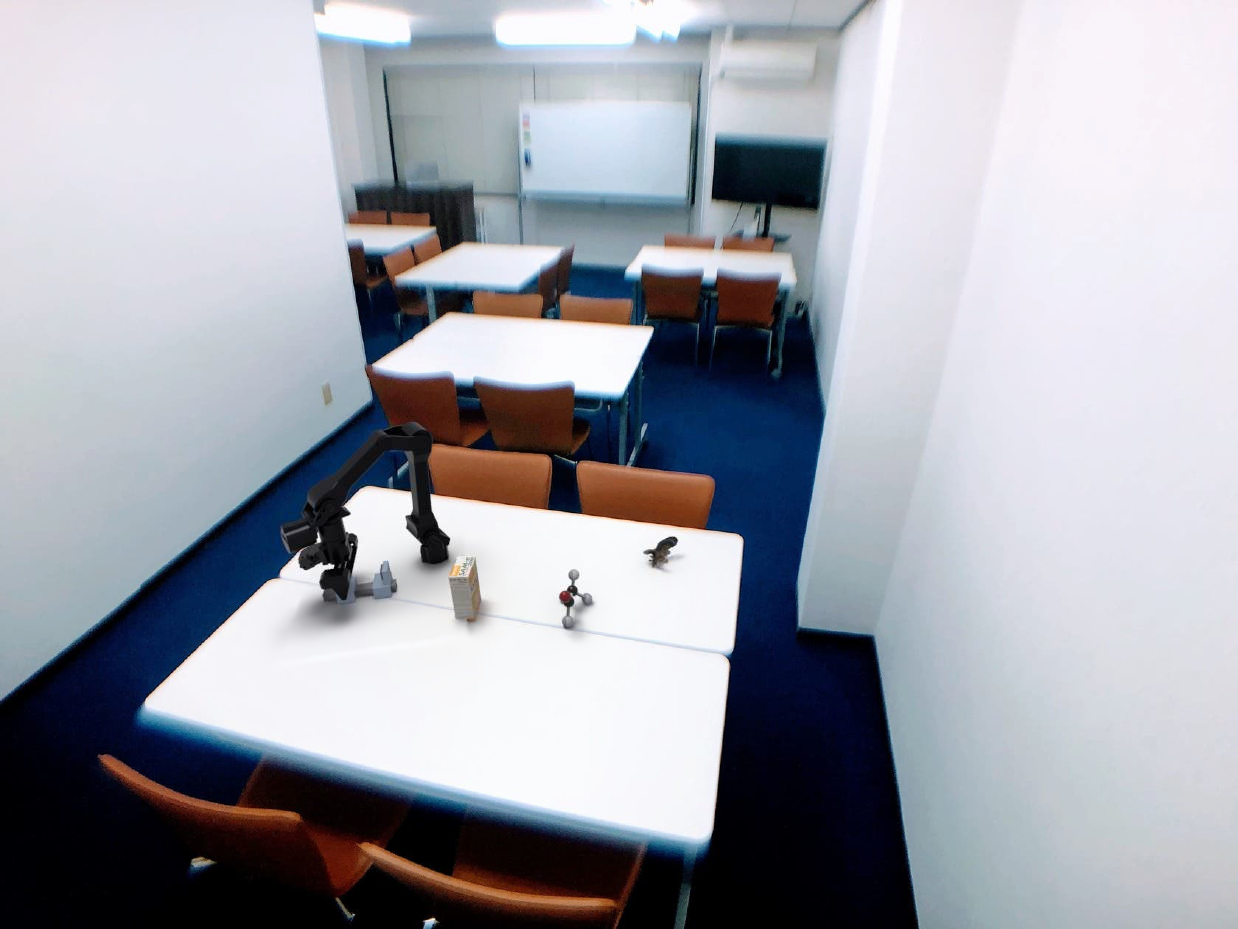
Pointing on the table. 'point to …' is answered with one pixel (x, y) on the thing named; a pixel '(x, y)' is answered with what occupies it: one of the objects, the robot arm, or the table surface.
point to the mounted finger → (382, 582)
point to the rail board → (357, 590)
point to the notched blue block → (349, 592)
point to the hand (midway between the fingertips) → (346, 588)
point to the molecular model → (569, 600)
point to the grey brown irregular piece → (661, 549)
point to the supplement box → (465, 588)
